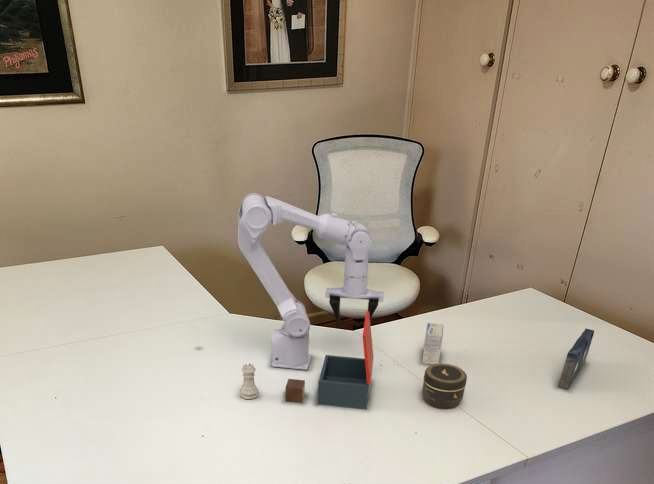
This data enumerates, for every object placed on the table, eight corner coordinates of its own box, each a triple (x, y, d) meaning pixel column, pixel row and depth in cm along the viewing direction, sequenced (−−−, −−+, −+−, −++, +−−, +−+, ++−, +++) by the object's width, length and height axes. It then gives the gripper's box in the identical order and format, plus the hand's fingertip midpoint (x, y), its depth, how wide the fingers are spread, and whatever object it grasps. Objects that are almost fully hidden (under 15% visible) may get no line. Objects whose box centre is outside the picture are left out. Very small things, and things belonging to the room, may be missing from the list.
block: (285, 401, 147) (285, 386, 145) (288, 393, 151) (288, 378, 149) (301, 403, 147) (302, 388, 145) (304, 394, 150) (304, 380, 148)
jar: (437, 415, 145) (442, 386, 141) (412, 394, 152) (416, 367, 148) (470, 405, 149) (476, 378, 145) (444, 386, 156) (449, 359, 152)
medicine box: (438, 365, 166) (443, 336, 161) (421, 363, 166) (425, 334, 162) (439, 352, 172) (443, 323, 168) (423, 350, 173) (427, 322, 168)
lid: (362, 335, 136) (365, 335, 136) (366, 311, 147) (369, 311, 147) (367, 384, 142) (370, 384, 142) (370, 357, 154) (373, 357, 154)
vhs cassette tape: (575, 360, 171) (585, 327, 166) (586, 363, 170) (597, 330, 164) (555, 386, 158) (565, 351, 153) (567, 390, 157) (578, 355, 152)
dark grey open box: (317, 404, 147) (318, 381, 144) (324, 376, 158) (325, 354, 155) (366, 409, 146) (368, 386, 142) (369, 381, 157) (371, 359, 154)
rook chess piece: (261, 392, 150) (261, 363, 146) (253, 401, 147) (253, 372, 142) (244, 389, 152) (243, 360, 147) (236, 398, 148) (235, 368, 144)
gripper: (385, 270, 156) (381, 320, 163) (328, 266, 158) (326, 316, 165) (384, 280, 150) (380, 331, 157) (325, 276, 152) (323, 327, 159)
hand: (352, 324), depth 161 cm, fingers open, 7 cm apart
